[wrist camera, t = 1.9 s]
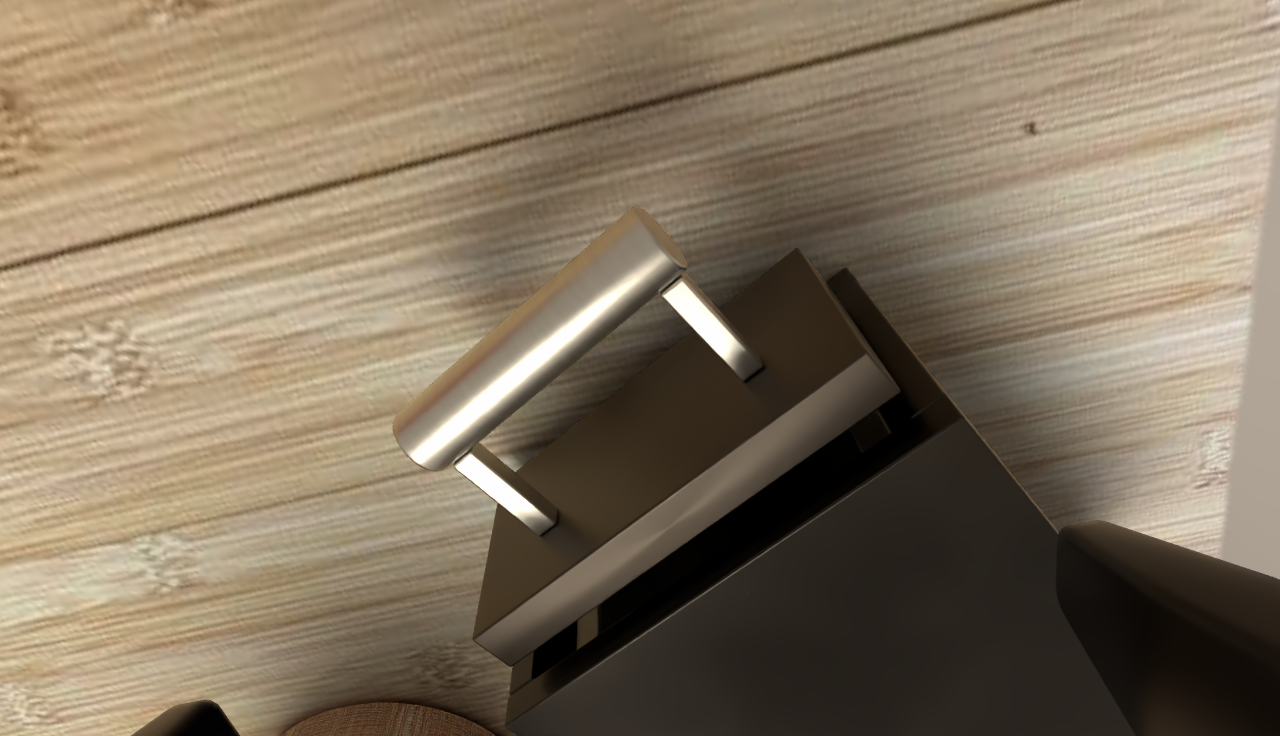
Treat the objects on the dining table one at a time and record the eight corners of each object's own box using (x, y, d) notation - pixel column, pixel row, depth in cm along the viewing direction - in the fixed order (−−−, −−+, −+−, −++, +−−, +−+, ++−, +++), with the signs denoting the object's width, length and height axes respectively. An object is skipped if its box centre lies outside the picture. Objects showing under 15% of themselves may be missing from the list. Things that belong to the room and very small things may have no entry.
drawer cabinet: (530, 510, 24) (503, 727, 17) (846, 266, 21) (963, 415, 14) (794, 727, 29) (852, 959, 22) (1080, 557, 26) (1248, 770, 19)
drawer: (381, 384, 21) (309, 526, 16) (685, 110, 18) (720, 174, 13) (766, 702, 27) (804, 877, 22) (1036, 536, 24) (1154, 693, 19)
